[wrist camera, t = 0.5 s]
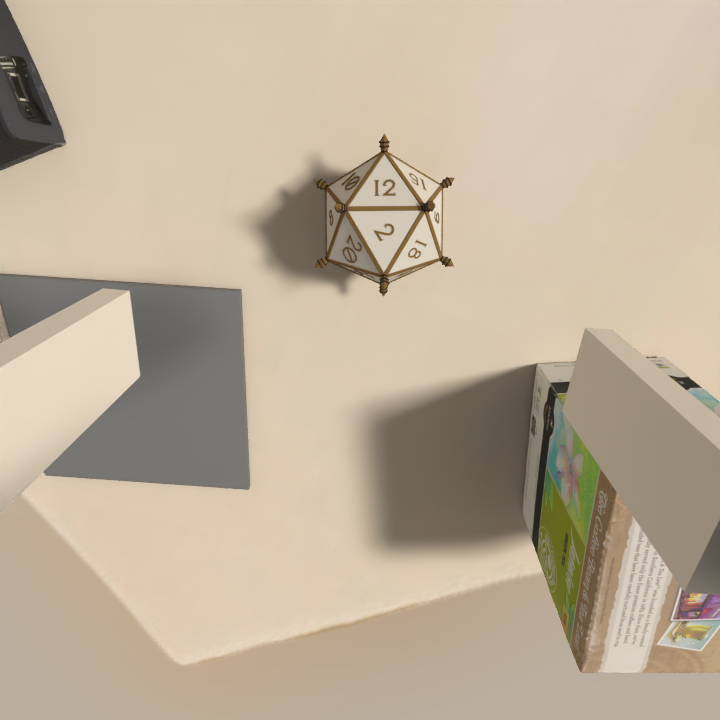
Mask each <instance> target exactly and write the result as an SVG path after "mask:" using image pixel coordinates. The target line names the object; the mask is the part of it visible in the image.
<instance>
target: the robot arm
mask: <svg viewBox="0 0 720 720" xmlns="http://www.w3.org/2000/svg"><path fill="white" fill-rule="evenodd" d="M139 377H140V370H139V362H138V354H137V346H136V338H135V330H134V322H133V314H132V307H131V299H130V291H129V290H117V289H104V288H103V289H101V290H99V291H97V292H95V293H93V294H91V295H90V296H88V297H86V298H84V299H82V300H80V301H78V302H76V303H75V304H73V305H71V306H69V307H67V308H65V309H63V310H61V311H59V312H58V313H56V314H54V315H52V316H50V317H48V318H46V319H44V320H43V321H41V322H39V323H37V324H35V325H33V326H31V327H29V328H28V329H26V330H24V331H22V332H20V333H18V334H16V335H14V336H12V337H11V338H9V339H7V340H5V341H3V342H1V343H0V514H1V513H2V512H3V511H4V510H5V509H6V508H7V507H8V506H9V505H10V504H11V503H12V502H13V501H14V500H15V499H16V498H17V497H18V496H19V495H20V494H21V493H22V492H23V491H24V490H25V489H26V488H27V487H28V486H29V485H30V484H31V483H32V482H33V481H34V480H35V479H36V478H37V477H38V476H39V475H40V474H41V473H42V472H43V471H44V470H46V469H47V468H48V467H49V466H50V465H51V464H52V463H53V462H54V461H55V460H56V459H57V458H58V457H59V456H60V455H61V454H62V453H63V452H64V451H65V450H66V449H67V448H68V447H69V446H70V445H71V444H72V443H73V442H74V441H75V440H76V439H77V438H78V437H79V436H80V435H81V434H82V433H83V432H84V431H85V430H86V429H87V428H88V427H89V426H90V425H91V424H92V423H93V422H94V421H95V420H96V419H97V418H98V417H99V416H100V415H102V414H103V413H104V412H105V411H106V410H107V409H108V408H109V407H110V406H111V405H112V404H113V403H114V402H115V401H116V400H117V399H118V398H119V397H120V396H121V395H122V394H123V393H124V392H125V391H126V390H127V389H128V388H129V387H130V386H131V385H132V384H133V383H134V382H135V381H136V380H137V379H138V378H139ZM562 412H563V413H564V415H565V416H566V418H567V419H568V421H569V422H570V424H571V425H572V427H573V428H574V430H575V431H576V433H577V434H578V436H579V437H580V439H581V440H582V442H583V443H584V445H585V446H586V448H587V449H588V450H589V452H590V453H591V455H592V456H593V458H594V459H595V461H596V462H597V464H598V465H599V467H600V468H601V470H602V471H603V473H604V474H605V476H606V477H607V479H608V480H609V482H610V483H611V485H612V486H613V488H614V489H615V490H616V492H617V493H618V495H619V496H620V498H621V499H622V501H623V502H624V504H625V505H626V507H627V508H628V510H629V511H630V513H631V514H632V516H633V517H634V519H635V520H636V522H637V523H638V525H639V526H640V527H641V529H642V530H643V532H644V533H645V535H646V536H647V538H648V539H649V541H650V542H651V544H652V545H653V547H654V548H655V550H656V551H657V553H658V554H659V556H660V557H661V559H662V560H663V562H664V563H665V565H666V566H667V567H668V569H669V570H670V572H671V573H672V575H673V576H674V578H675V579H676V581H677V582H678V584H679V585H680V587H681V588H682V590H683V591H684V592H689V593H701V594H713V595H720V417H719V416H717V415H716V414H715V413H714V412H713V411H711V410H710V409H709V408H708V407H706V406H705V405H704V404H703V403H701V402H700V401H699V400H698V399H697V398H695V397H694V396H693V395H692V394H690V393H689V392H688V391H687V390H685V389H684V388H683V387H682V386H680V385H679V384H678V383H677V382H676V381H674V380H673V379H672V378H671V377H669V376H668V375H667V374H666V373H664V372H663V371H662V370H661V369H660V368H658V367H657V366H656V365H655V364H653V363H652V362H651V361H650V360H648V359H647V358H646V357H645V356H644V355H642V354H641V353H640V352H639V351H637V350H636V349H635V348H634V347H632V346H631V345H630V344H629V343H628V342H626V341H625V340H624V339H623V338H621V337H620V336H619V335H618V334H616V333H615V332H614V331H613V330H607V329H595V328H585V331H584V334H583V338H582V341H581V345H580V348H579V352H578V355H577V359H576V363H575V366H574V370H573V373H572V377H571V380H570V384H569V387H568V391H567V394H566V398H565V402H564V405H563V409H562Z"/></svg>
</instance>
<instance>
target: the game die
mask: <svg viewBox="0 0 720 720" xmlns="http://www.w3.org/2000/svg"><path fill="white" fill-rule="evenodd" d="M389 142H390V141H388V139H387V137H386V136H385V134H384V135H383V137H382V139H381V141H379V143H380V146H379V147H380V148H381V152H380V153H379V154H377V155H375V156H374V157H372V158H371V159H369V160H367V161H366V162H364V163H363V164H361V165H360V166H358V167H356V168H355V169H353V170H352V171H350V172H349V173H347V174H345V175H344V176H342V177H341V178H339V179H338V180H336V181H334V182H333V183H331V184H330V185H327V184H326V183H325V181H323V180H322V179H321V180H314V181H315V183H316V185H317V188H320V189H321V190H322V189H324V190H325V196H326V257H325V258H321V259H320V260H318V261H317V263H316V265H315V267H322V268H323V266H324V265H325V266H326V264H327V262H331V263H333V264H336V265H338V266H340V267H342V268H345V269H347V270H349V271H351V272H354V273H356V274H358V275H361V276H363V277H365V278H367V279H370V280H372V281H374V282H376V283H379V284H380V287H379V288H380V290H379V291H380V293H382V295H383V296H384V295H385V293H387V291H388V290H387V288H388V285H389V283H390V282H393V281H395V280H397V279H399V278H402V277H404V276H406V275H408V274H411V273H413V272H415V271H417V270H420V269H422V268H424V267H426V266H429V265H431V264H433V263H435V262H438V261H441V262H442V265H443V264H444V265H445V267H446V266H454V265H453V263H452V261H451V259H449V258H448V257H443V256H442V241H443V188H448V186H451V185H452V182H453V180H454V178H448V177H446V179H445V180H444V179H443V181H442V183H438V182H436V181H435V180H433V179H431V178H430V177H428V176H426V175H425V174H423V173H421V172H420V171H418V170H417V169H415V168H413V167H412V166H410V165H408V164H407V163H405V162H403V161H402V160H400V159H398V158H397V157H395V156H393V155H392V154H390V153H389V152H388V151H387V150H388V147H389V145H388V144H389Z"/></svg>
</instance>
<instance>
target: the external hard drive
mask: <svg viewBox="0 0 720 720" xmlns="http://www.w3.org/2000/svg"><path fill="white" fill-rule="evenodd" d="M65 144H66V142H65V140H64V135H63V131H62V128H61V126H60V123H59V121H58V118H57V116H56V113H55V111H54V108H53V106H52V103H51V101H50V99H49V96H48V94H47V92H46V89H45V87H44V85H43V82H42V80H41V78H40V75H39V73H38V71H37V68H36V66H35V64H34V62H33V60H32V57H31V55H30V53H29V51H28V49H27V46H26V44H25V42H24V40H23V38H22V36H21V34H20V32H19V29H18V27H17V25H16V23H15V21H14V19H13V17H12V15H11V12H10V10H9V9H8V7H7V5H6V3H5V1H4V0H0V170H2V169H5V168H7V167H10V166H12V165H15V164H17V163H20V162H22V161H25V160H27V159H29V158H32V157H34V156H37V155H39V154H42V153H45V152H47V151H49V150H52V149H54V148H57V147H60V146H63V145H65Z"/></svg>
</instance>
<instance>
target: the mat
mask: <svg viewBox="0 0 720 720" xmlns="http://www.w3.org/2000/svg"><path fill="white" fill-rule="evenodd" d="M103 288H104V289H117V290H129V291H130V299H131V307H132V314H133V322H134V330H135V338H136V346H137V354H138V362H139V370H140V377H139V378H138V379H137V380H136V381H135V382H134V383H133V384H132V385H131V386H130V387H129V388H128V389H127V390H126V391H125V392H124V393H123V394H122V395H121V396H120V397H119V398H118V399H117V400H116V401H115V402H114V403H113V404H112V405H111V406H110V407H109V408H108V409H107V410H106V411H105V412H104V413H103V414H102V415H100V416H99V417H98V418H97V419H96V420H95V421H94V422H93V423H92V424H91V425H90V426H89V427H88V428H87V429H86V430H85V431H84V432H83V433H82V434H81V435H80V436H79V437H78V438H77V439H76V440H75V441H74V442H73V443H72V444H71V445H70V446H69V447H68V448H67V449H66V450H65V451H64V452H63V453H62V454H61V455H60V456H59V457H58V458H57V459H56V460H55V461H54V462H53V463H52V464H51V465H50V466H49V467H48V468H47V469H46V470H44V471H45V475H47V476H61V477H76V478H90V479H104V480H118V481H132V482H147V483H161V484H175V485H189V486H203V487H218V488H232V489H246V490H249V488H250V473H249V451H248V428H247V406H246V384H245V361H244V339H243V316H242V294H241V289H226V288H210V287H195V286H180V285H165V284H150V283H135V282H120V281H105V280H90V279H75V278H60V277H45V276H30V275H15V274H0V300H1V304H2V308H3V312H4V316H5V320H6V324H7V328H8V331H9V335H10V338H11V337H12V336H14V335H16V334H18V333H20V332H22V331H24V330H26V329H28V328H29V327H31V326H33V325H35V324H37V323H39V322H41V321H43V320H44V319H46V318H48V317H50V316H52V315H54V314H56V313H58V312H59V311H61V310H63V309H65V308H67V307H69V306H71V305H73V304H75V303H76V302H78V301H80V300H82V299H84V298H86V297H88V296H90V295H91V294H93V293H95V292H97V291H99V290H101V289H103Z"/></svg>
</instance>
